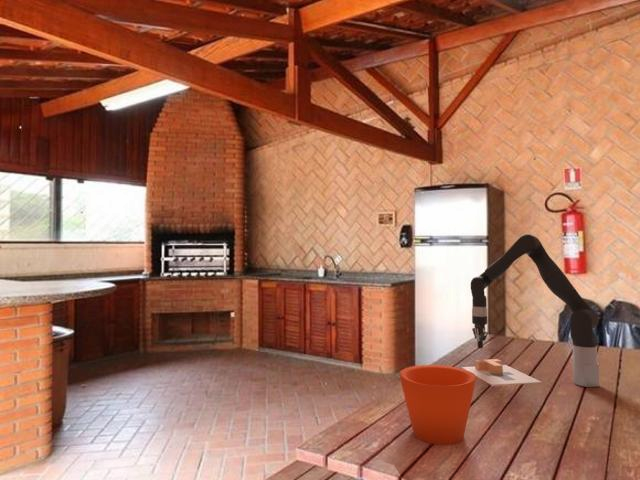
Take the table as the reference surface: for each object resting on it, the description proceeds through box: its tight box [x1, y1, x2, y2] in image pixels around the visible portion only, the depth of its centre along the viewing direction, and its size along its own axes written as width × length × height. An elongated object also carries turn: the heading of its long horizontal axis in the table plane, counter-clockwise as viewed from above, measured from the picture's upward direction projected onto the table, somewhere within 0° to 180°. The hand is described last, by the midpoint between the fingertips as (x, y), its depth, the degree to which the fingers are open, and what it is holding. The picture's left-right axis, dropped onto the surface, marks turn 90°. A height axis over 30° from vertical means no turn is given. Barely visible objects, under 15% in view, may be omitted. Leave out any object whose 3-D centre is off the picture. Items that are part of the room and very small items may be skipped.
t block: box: [474, 358, 504, 374], centre depth 223 cm, size 12×12×4 cm
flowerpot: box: [398, 364, 478, 446], centre depth 151 cm, size 25×25×20 cm
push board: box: [461, 364, 542, 387], centre depth 217 cm, size 30×24×1 cm
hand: (480, 348), depth 235 cm, fingers closed
